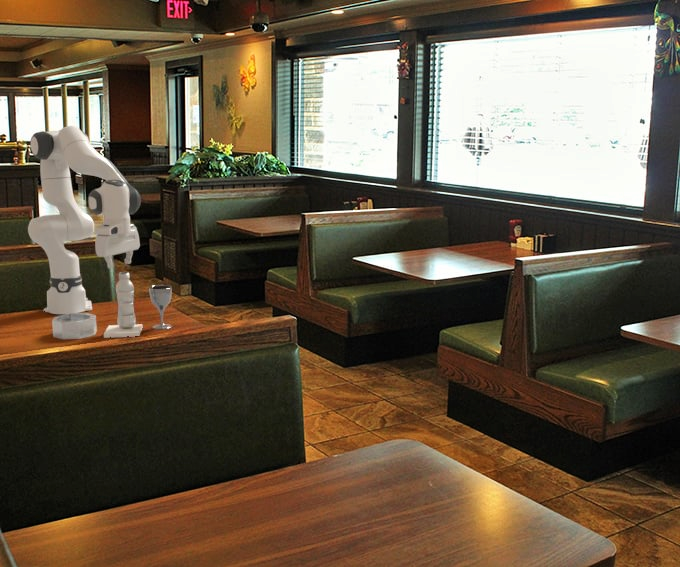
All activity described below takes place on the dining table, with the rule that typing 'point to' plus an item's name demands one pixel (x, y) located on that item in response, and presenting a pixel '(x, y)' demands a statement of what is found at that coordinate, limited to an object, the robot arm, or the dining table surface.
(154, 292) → the wine glass
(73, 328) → the steel collar
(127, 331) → the ceramic pad
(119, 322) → the plastic bottle
